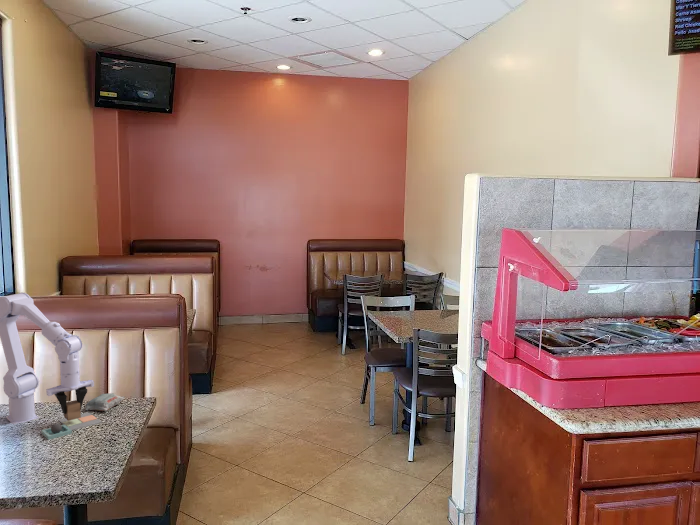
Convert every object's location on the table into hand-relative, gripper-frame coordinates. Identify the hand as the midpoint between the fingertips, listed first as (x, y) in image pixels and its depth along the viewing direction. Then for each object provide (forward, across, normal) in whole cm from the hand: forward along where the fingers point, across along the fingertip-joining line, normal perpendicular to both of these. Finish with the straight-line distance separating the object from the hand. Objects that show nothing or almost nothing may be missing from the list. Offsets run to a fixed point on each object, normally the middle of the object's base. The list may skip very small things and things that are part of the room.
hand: (71, 411), depth 188 cm
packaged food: (+5, +14, +8) cm, 17 cm away
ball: (+4, -6, -5) cm, 9 cm away
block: (+2, 0, 0) cm, 2 cm away
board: (+5, +2, 0) cm, 6 cm away
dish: (+5, -6, -5) cm, 10 cm away
